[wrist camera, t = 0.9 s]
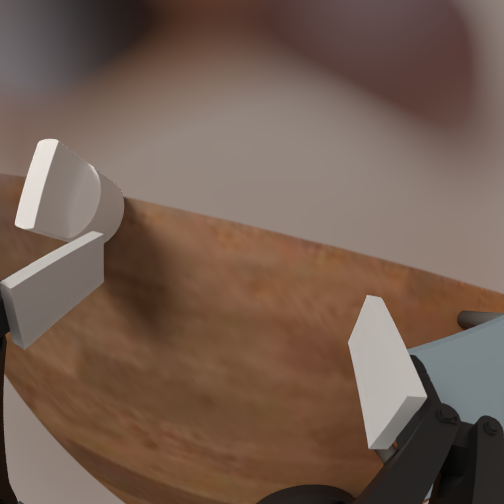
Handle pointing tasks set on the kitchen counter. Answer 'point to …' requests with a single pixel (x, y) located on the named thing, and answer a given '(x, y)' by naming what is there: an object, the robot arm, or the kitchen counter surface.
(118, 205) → the base with upright slab
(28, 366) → the kitchen counter surface
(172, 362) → the kitchen counter surface
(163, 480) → the kitchen counter surface
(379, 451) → the pale blue square-topped fixture
